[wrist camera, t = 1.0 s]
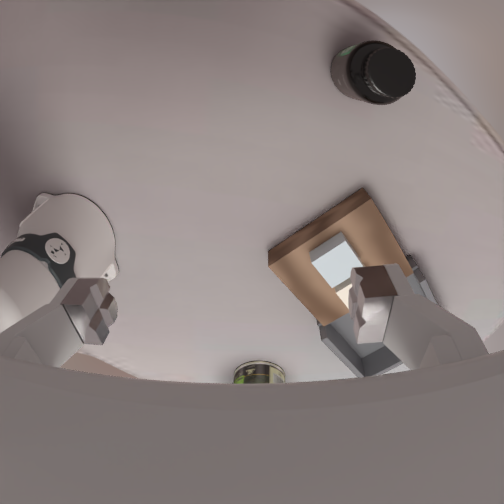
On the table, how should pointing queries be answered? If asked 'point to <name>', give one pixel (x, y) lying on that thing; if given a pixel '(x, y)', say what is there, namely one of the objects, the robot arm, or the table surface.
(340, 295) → the cream tile
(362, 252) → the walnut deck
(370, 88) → the supplement bottle
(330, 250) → the pale blue brick
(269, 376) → the coffee can
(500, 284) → the table surface
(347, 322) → the box
